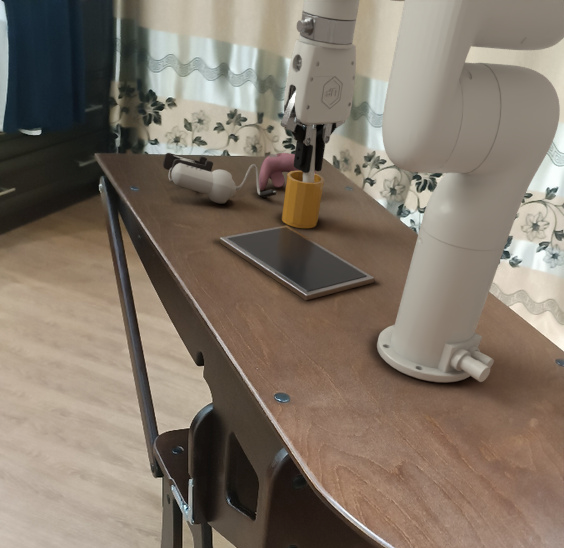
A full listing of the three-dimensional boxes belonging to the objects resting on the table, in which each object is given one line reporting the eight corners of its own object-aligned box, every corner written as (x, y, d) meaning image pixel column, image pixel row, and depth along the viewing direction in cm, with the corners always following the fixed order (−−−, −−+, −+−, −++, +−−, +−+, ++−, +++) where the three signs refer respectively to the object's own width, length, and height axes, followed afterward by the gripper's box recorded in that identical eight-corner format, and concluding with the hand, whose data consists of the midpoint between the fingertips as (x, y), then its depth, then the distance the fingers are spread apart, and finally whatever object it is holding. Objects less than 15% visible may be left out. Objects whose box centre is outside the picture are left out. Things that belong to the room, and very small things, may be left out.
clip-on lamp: (257, 202, 129) (159, 174, 121) (267, 166, 125) (168, 134, 118) (273, 222, 120) (169, 192, 113) (285, 183, 116) (178, 150, 109)
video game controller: (312, 202, 128) (318, 160, 126) (312, 198, 124) (319, 155, 122) (257, 193, 128) (263, 151, 126) (256, 188, 124) (262, 145, 122)
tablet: (373, 282, 103) (374, 276, 102) (305, 300, 96) (306, 294, 95) (286, 230, 113) (286, 224, 113) (219, 242, 106) (219, 236, 106)
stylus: (315, 205, 114) (318, 128, 108) (307, 207, 113) (309, 129, 107) (307, 203, 115) (310, 127, 109) (299, 205, 114) (302, 128, 108)
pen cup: (324, 225, 117) (331, 181, 112) (296, 230, 114) (303, 185, 109) (301, 212, 120) (307, 168, 115) (274, 217, 117) (279, 172, 112)
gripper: (301, 37, 93) (283, 183, 105) (385, 37, 101) (359, 172, 113) (266, 23, 97) (252, 166, 109) (349, 25, 105) (328, 157, 117)
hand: (307, 168), depth 111 cm, fingers closed on stylus, 1 cm apart
